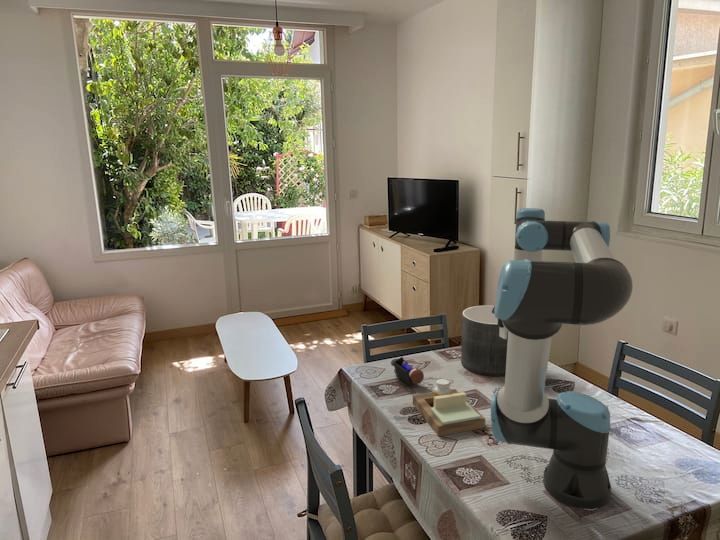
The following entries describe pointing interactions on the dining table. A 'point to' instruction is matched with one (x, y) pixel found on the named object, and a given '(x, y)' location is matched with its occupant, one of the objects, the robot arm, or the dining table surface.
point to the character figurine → (407, 372)
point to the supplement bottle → (442, 387)
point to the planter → (483, 342)
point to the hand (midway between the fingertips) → (523, 334)
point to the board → (423, 406)
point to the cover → (453, 409)
